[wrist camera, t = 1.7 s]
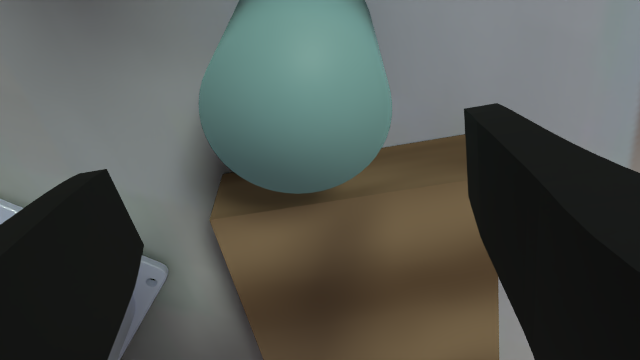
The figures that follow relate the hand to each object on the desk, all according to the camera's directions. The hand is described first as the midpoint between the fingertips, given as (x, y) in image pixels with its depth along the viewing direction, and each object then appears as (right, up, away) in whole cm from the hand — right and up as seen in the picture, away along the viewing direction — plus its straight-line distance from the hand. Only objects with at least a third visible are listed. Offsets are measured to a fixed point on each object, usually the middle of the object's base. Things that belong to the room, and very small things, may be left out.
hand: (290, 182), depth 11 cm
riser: (+3, -3, +13) cm, 13 cm away
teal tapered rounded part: (0, +5, +8) cm, 9 cm away
